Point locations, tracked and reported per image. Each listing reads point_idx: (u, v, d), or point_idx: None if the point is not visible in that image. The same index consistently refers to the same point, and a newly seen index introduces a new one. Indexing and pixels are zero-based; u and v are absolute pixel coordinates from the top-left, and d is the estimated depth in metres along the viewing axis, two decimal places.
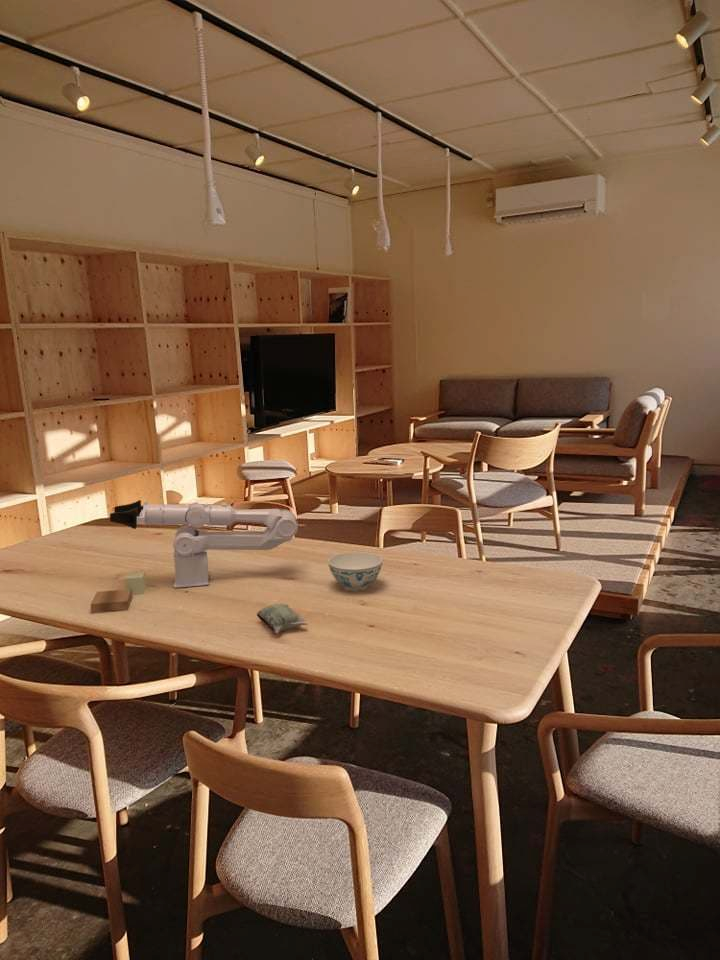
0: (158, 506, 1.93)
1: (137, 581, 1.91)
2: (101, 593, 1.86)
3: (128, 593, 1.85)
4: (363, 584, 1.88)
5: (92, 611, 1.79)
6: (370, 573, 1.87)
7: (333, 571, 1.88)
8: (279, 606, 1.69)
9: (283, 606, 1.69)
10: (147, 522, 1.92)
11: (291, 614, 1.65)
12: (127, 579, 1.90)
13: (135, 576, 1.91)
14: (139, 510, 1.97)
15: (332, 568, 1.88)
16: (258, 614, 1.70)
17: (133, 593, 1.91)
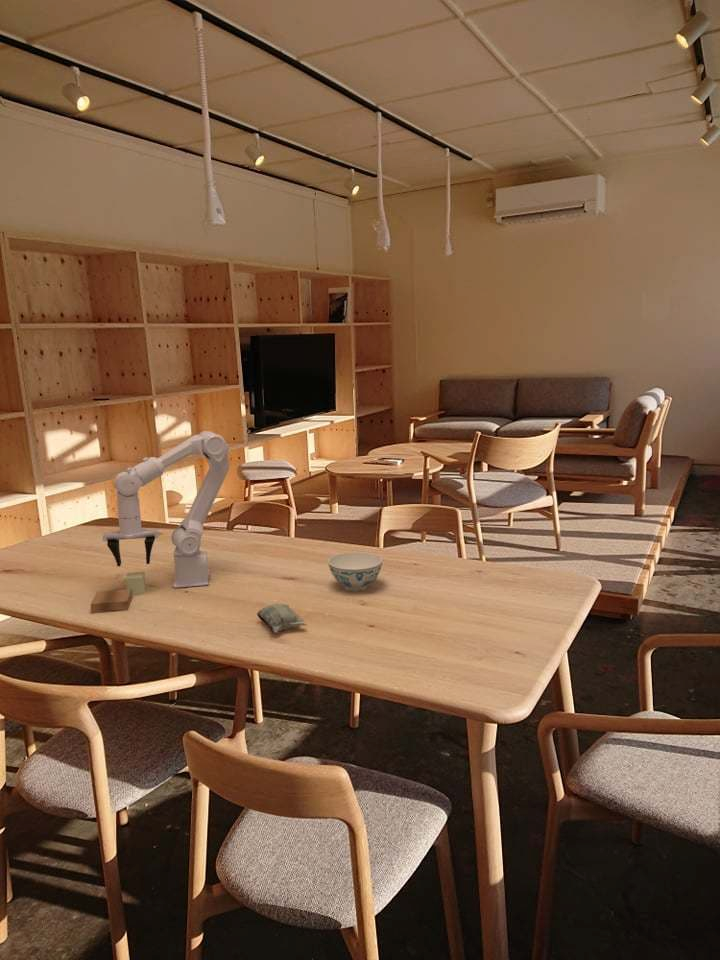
0: (132, 522, 1.87)
1: (137, 581, 1.91)
2: (101, 593, 1.86)
3: (128, 593, 1.85)
4: (363, 584, 1.88)
5: (92, 611, 1.79)
6: (370, 573, 1.87)
7: (333, 571, 1.88)
8: (279, 606, 1.69)
9: (283, 606, 1.69)
10: None
11: (291, 614, 1.65)
12: (127, 579, 1.90)
13: (135, 576, 1.91)
14: (117, 541, 1.90)
15: (332, 568, 1.88)
16: (258, 614, 1.70)
17: (133, 593, 1.91)
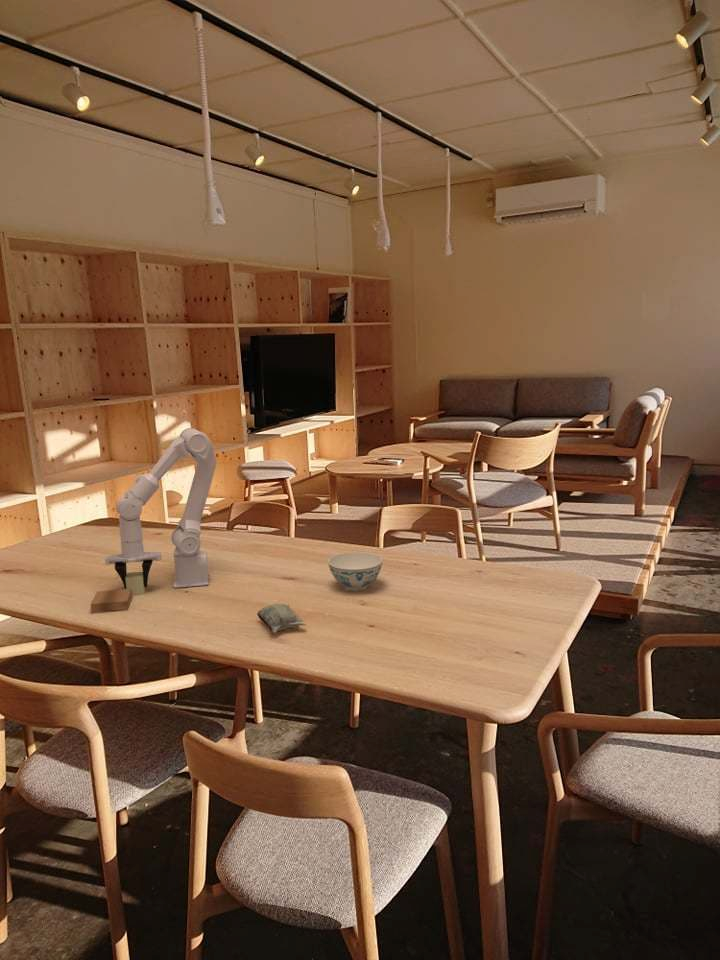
0: (135, 546, 1.89)
1: (137, 581, 1.91)
2: (101, 593, 1.86)
3: (128, 593, 1.85)
4: (363, 584, 1.88)
5: (92, 611, 1.79)
6: (370, 573, 1.87)
7: (333, 571, 1.88)
8: (279, 606, 1.69)
9: (283, 606, 1.69)
10: None
11: (290, 614, 1.65)
12: (127, 579, 1.90)
13: (135, 576, 1.91)
14: (124, 564, 1.92)
15: (332, 568, 1.88)
16: (258, 614, 1.70)
17: (133, 593, 1.91)
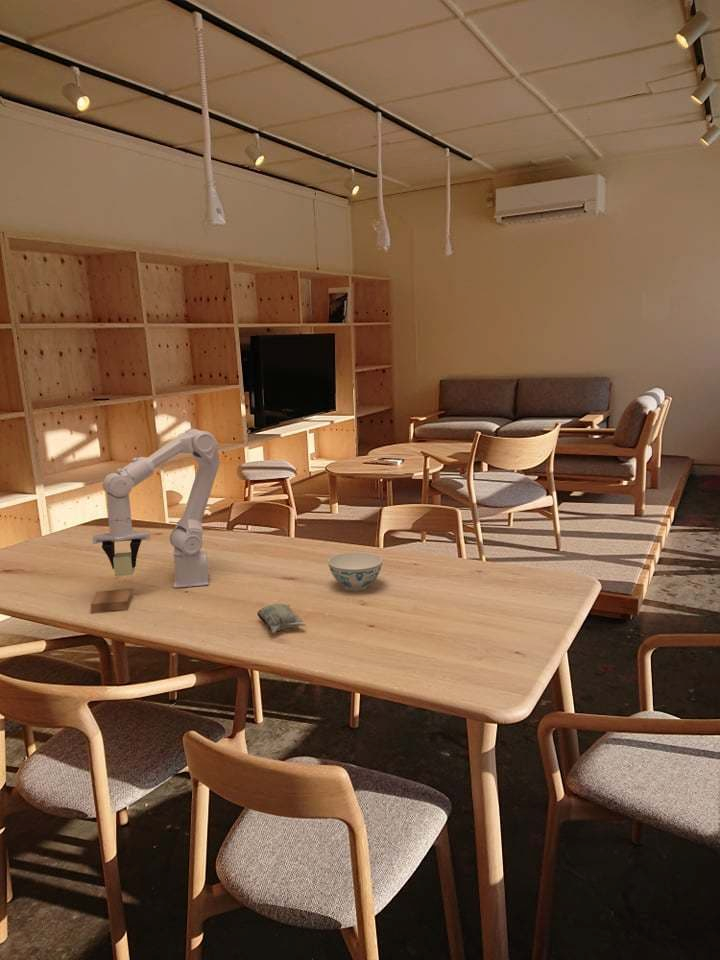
0: (123, 525, 1.84)
1: (125, 561, 1.86)
2: (101, 593, 1.86)
3: (128, 593, 1.85)
4: (363, 584, 1.88)
5: (92, 611, 1.79)
6: (370, 573, 1.87)
7: (333, 571, 1.88)
8: (278, 606, 1.69)
9: (282, 606, 1.69)
10: None
11: (289, 614, 1.65)
12: (115, 559, 1.85)
13: (123, 556, 1.86)
14: (112, 543, 1.86)
15: (332, 568, 1.88)
16: (258, 613, 1.70)
17: (121, 573, 1.86)
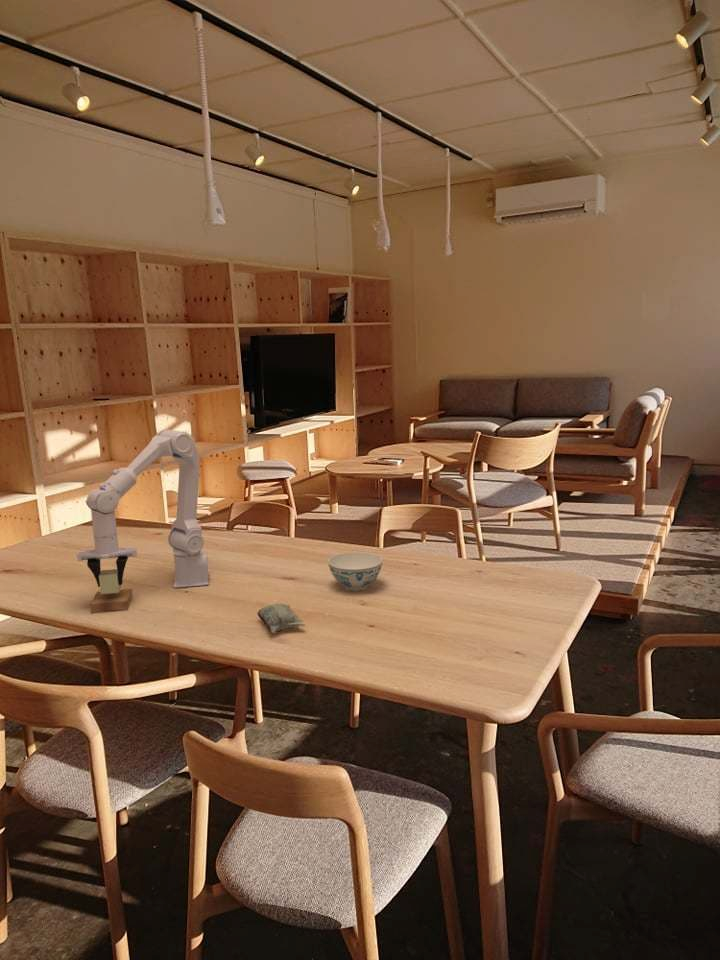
0: (108, 541, 1.78)
1: (111, 579, 1.81)
2: None
3: (128, 593, 1.85)
4: (363, 584, 1.88)
5: (92, 611, 1.79)
6: (370, 573, 1.87)
7: (333, 571, 1.88)
8: (278, 606, 1.69)
9: (282, 606, 1.69)
10: None
11: (289, 614, 1.65)
12: (101, 576, 1.80)
13: (110, 574, 1.81)
14: (98, 561, 1.81)
15: (332, 568, 1.88)
16: (258, 613, 1.70)
17: (107, 591, 1.81)
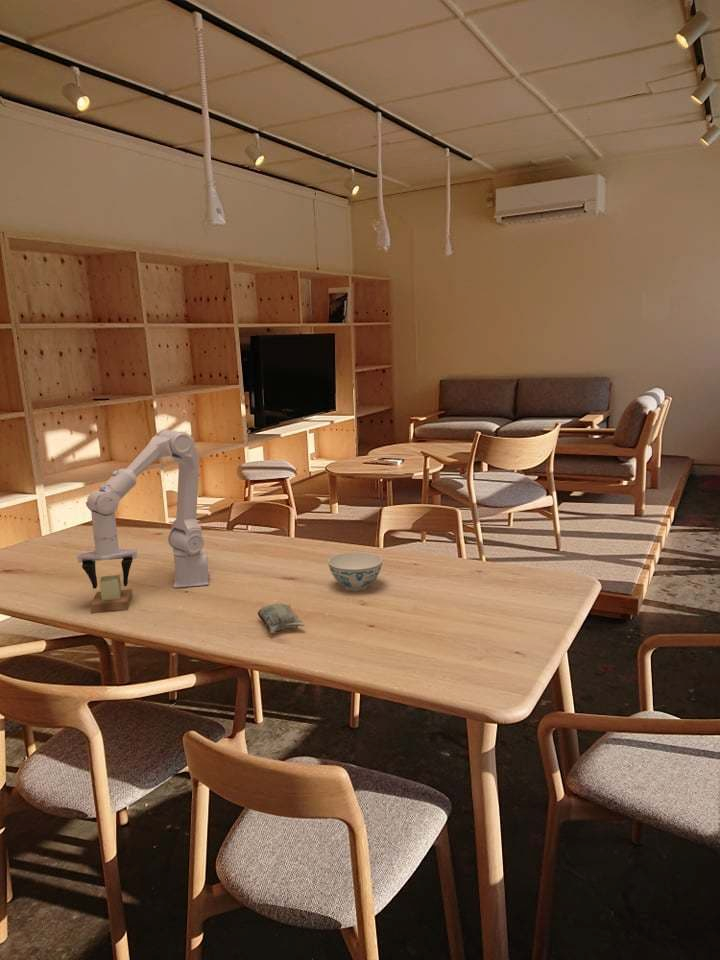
0: (109, 543, 1.78)
1: (112, 585, 1.81)
2: None
3: (128, 593, 1.85)
4: (363, 584, 1.88)
5: (92, 611, 1.79)
6: (370, 573, 1.87)
7: (333, 571, 1.88)
8: (278, 606, 1.69)
9: (282, 606, 1.69)
10: None
11: (289, 614, 1.65)
12: (101, 583, 1.80)
13: (110, 580, 1.81)
14: (93, 562, 1.81)
15: (332, 568, 1.88)
16: (258, 613, 1.71)
17: (108, 598, 1.81)
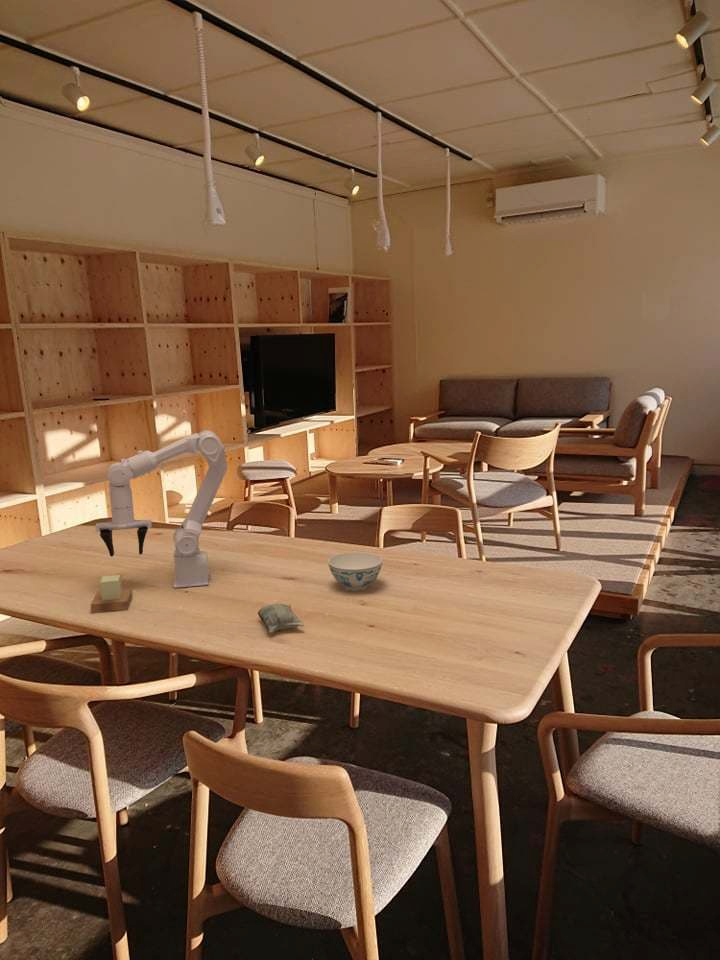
0: (125, 513, 1.88)
1: (112, 585, 1.81)
2: None
3: (128, 593, 1.86)
4: (363, 584, 1.88)
5: (92, 611, 1.79)
6: (370, 573, 1.87)
7: (333, 571, 1.88)
8: (278, 606, 1.69)
9: (282, 606, 1.69)
10: None
11: (288, 614, 1.65)
12: (102, 583, 1.80)
13: (111, 580, 1.81)
14: (110, 532, 1.91)
15: (332, 568, 1.88)
16: (258, 613, 1.71)
17: (108, 597, 1.81)
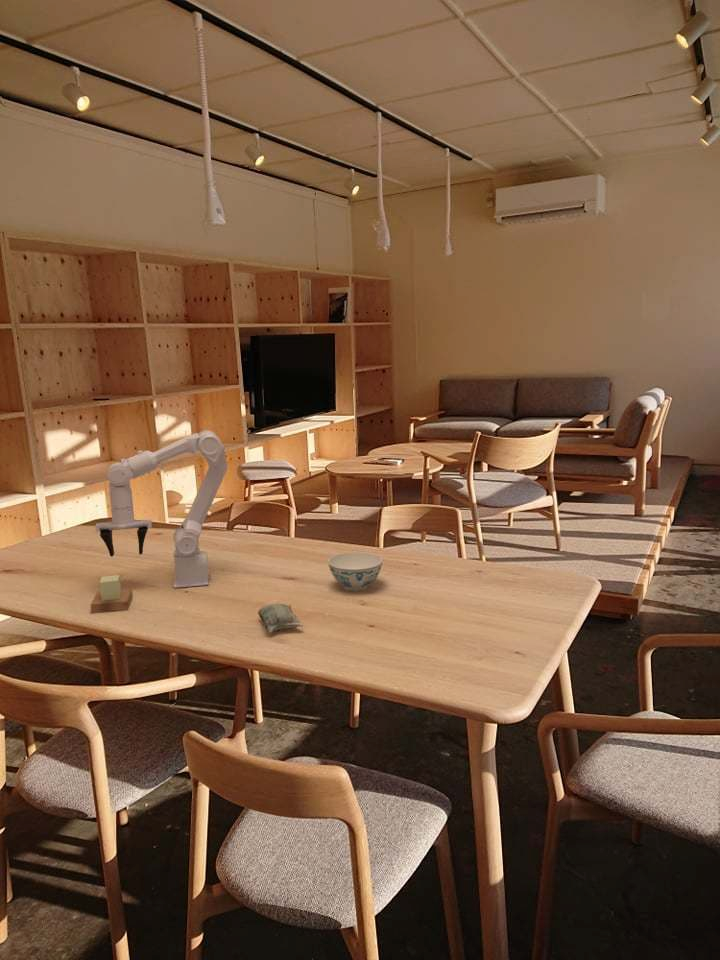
0: (125, 513, 1.88)
1: (112, 585, 1.81)
2: None
3: (128, 593, 1.85)
4: (363, 584, 1.88)
5: (92, 611, 1.79)
6: (370, 573, 1.87)
7: (333, 571, 1.88)
8: (278, 606, 1.69)
9: (282, 606, 1.69)
10: None
11: (287, 614, 1.65)
12: (101, 583, 1.80)
13: (110, 580, 1.81)
14: (110, 532, 1.91)
15: (332, 568, 1.88)
16: (258, 612, 1.71)
17: (108, 598, 1.81)
